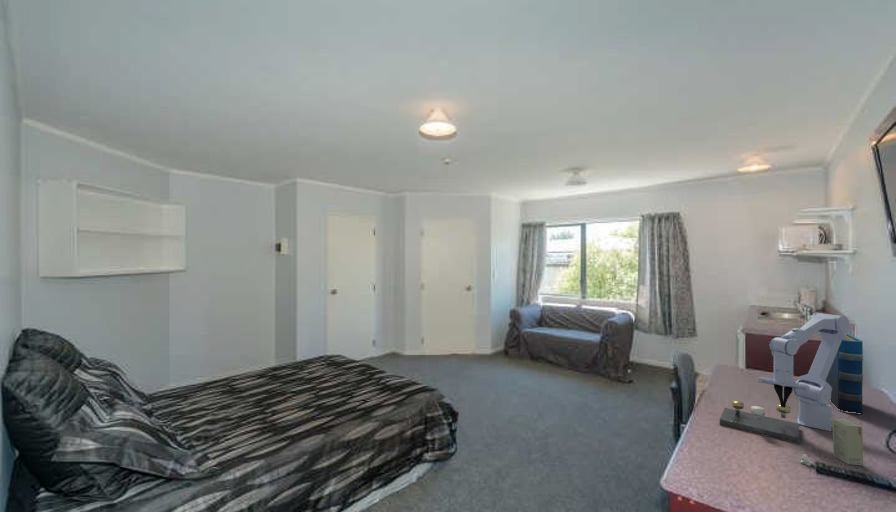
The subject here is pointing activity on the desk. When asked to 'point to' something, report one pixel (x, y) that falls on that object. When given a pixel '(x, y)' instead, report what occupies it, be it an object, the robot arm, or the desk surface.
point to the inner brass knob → (783, 410)
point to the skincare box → (847, 441)
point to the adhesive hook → (806, 460)
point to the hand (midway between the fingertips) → (783, 405)
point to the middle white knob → (758, 412)
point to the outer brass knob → (737, 405)
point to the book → (847, 375)
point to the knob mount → (761, 425)
